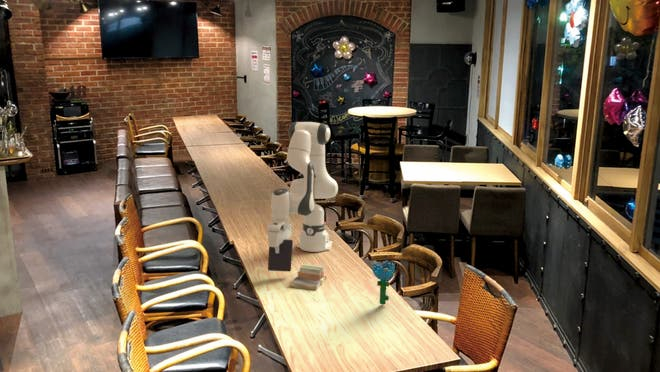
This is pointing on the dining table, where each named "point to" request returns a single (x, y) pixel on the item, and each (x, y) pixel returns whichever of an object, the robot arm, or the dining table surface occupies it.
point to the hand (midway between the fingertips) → (280, 250)
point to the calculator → (281, 257)
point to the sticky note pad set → (309, 277)
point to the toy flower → (383, 278)
